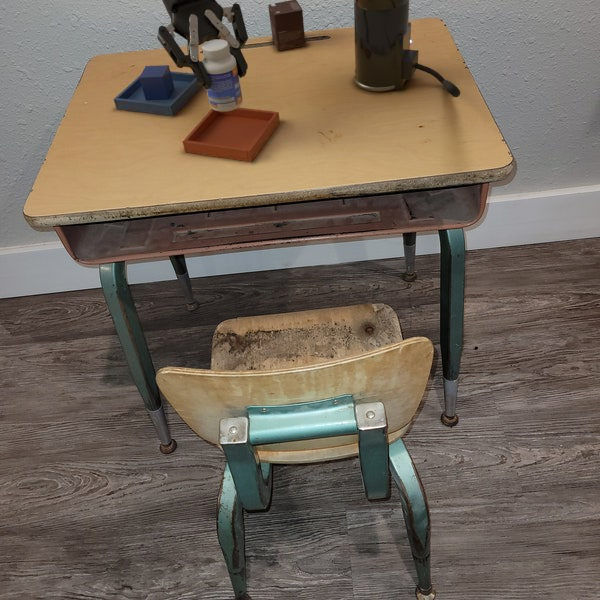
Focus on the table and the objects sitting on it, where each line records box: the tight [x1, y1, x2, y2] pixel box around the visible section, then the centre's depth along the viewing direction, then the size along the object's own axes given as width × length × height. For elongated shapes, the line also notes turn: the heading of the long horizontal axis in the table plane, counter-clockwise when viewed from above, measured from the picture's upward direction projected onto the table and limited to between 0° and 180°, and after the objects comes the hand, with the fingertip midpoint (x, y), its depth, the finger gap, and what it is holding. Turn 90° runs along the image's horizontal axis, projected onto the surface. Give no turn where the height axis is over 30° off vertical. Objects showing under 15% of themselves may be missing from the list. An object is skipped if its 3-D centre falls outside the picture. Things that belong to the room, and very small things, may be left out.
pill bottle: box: [201, 39, 243, 112], centre depth 93 cm, size 5×5×10 cm
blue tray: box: [112, 70, 202, 117], centre depth 112 cm, size 12×12×2 cm
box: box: [267, 0, 306, 51], centre depth 122 cm, size 6×6×7 cm
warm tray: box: [182, 106, 281, 163], centre depth 100 cm, size 12×12×2 cm
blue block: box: [138, 64, 174, 100], centre depth 111 cm, size 4×4×4 cm
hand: (226, 80), depth 92 cm, fingers closed on pill bottle, 5 cm apart
